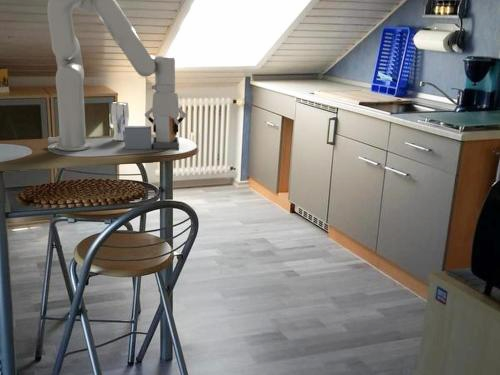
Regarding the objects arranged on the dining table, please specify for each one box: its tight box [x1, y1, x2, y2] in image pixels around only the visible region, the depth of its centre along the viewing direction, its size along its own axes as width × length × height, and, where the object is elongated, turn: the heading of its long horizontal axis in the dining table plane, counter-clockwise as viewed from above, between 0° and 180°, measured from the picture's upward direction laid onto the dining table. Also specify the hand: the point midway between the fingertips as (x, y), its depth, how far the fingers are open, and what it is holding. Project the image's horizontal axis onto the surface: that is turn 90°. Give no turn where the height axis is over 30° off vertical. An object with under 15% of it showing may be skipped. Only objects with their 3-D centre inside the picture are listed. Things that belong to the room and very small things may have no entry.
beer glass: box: [110, 101, 130, 142], centre depth 245 cm, size 7×7×15 cm
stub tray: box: [152, 136, 180, 151], centre depth 237 cm, size 10×12×2 cm
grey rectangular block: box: [124, 125, 153, 150], centre depth 233 cm, size 10×5×8 cm, turn 99°
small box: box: [155, 116, 177, 143], centre depth 235 cm, size 8×6×10 cm
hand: (165, 133), depth 236 cm, fingers closed on small box, 7 cm apart
